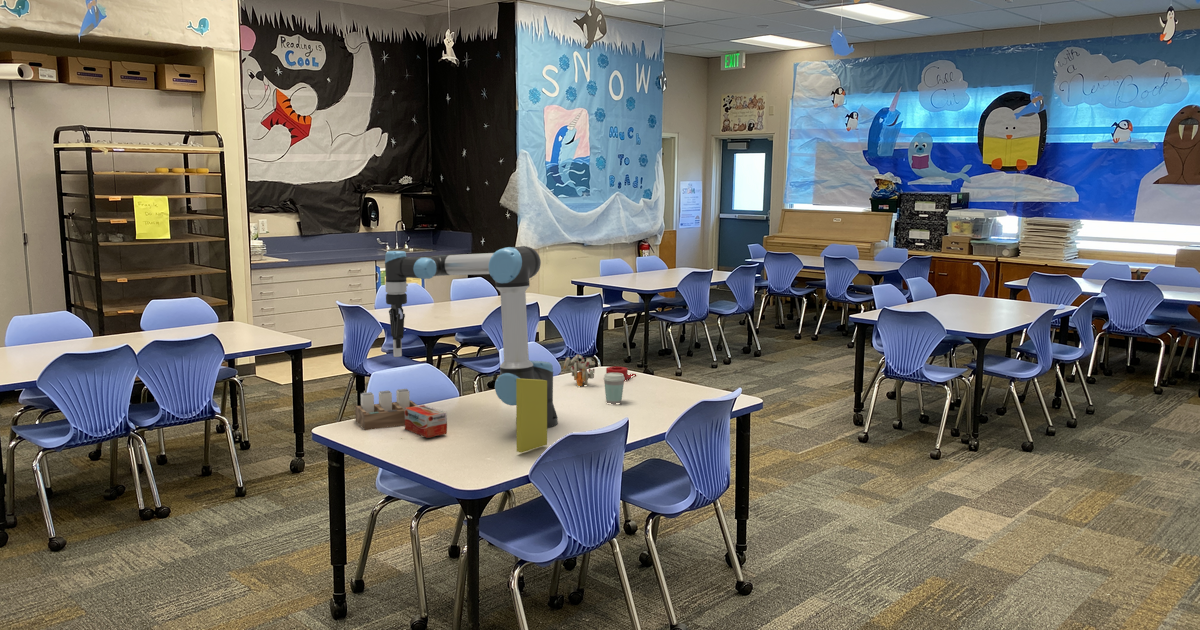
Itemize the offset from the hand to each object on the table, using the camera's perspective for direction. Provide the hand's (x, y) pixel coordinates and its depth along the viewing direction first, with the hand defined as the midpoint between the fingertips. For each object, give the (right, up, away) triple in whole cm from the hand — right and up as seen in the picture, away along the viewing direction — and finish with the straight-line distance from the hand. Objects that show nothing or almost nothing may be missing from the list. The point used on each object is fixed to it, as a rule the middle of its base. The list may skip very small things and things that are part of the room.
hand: (397, 356), depth 318 cm
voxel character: (+66, -17, +49) cm, 84 cm away
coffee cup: (+81, -20, +23) cm, 86 cm away
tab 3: (+3, -19, -2) cm, 20 cm away
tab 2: (-3, -20, -6) cm, 21 cm away
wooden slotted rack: (-2, -23, -8) cm, 25 cm away
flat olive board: (+53, -28, -38) cm, 71 cm away
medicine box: (+14, -26, -20) cm, 35 cm away
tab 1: (-9, -20, -9) cm, 24 cm away
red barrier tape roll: (+85, -15, +65) cm, 108 cm away
